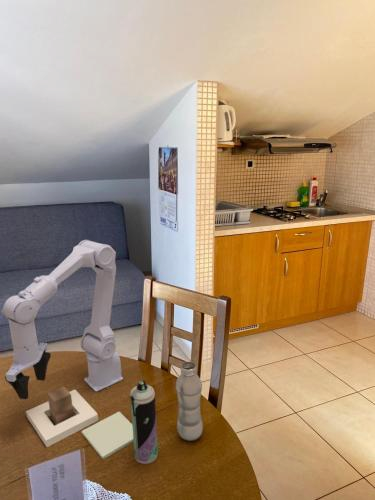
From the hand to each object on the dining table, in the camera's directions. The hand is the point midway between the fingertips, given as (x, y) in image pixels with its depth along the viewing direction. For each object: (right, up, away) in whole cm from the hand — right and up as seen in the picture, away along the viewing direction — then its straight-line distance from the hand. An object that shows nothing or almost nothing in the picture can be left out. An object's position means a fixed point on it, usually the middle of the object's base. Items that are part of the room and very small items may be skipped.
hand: (32, 388), depth 101 cm
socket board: (+7, -9, +3) cm, 12 cm away
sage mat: (+21, -11, -2) cm, 24 cm away
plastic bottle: (+41, -11, -3) cm, 42 cm away
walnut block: (+7, -9, +4) cm, 12 cm away
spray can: (+30, -13, -9) cm, 34 cm away
